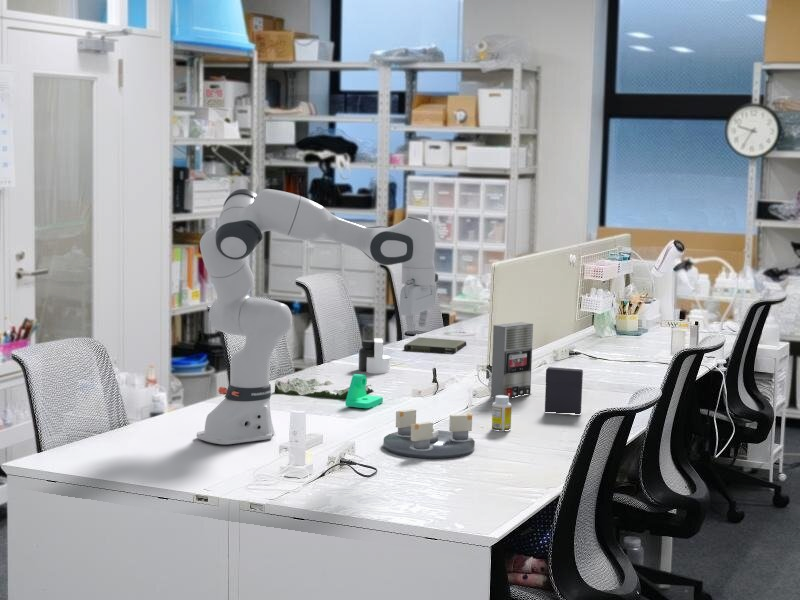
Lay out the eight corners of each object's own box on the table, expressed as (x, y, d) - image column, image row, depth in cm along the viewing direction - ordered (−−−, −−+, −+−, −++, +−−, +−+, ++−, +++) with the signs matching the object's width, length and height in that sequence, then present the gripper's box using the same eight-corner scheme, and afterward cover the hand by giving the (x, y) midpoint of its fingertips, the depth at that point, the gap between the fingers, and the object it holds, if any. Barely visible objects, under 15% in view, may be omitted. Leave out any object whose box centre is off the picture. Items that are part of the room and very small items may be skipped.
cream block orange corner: (408, 430, 333) (409, 408, 332) (418, 433, 329) (419, 410, 329) (392, 433, 329) (392, 410, 328) (402, 436, 326) (403, 413, 325)
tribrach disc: (431, 464, 306) (431, 444, 305) (364, 446, 323) (364, 427, 322) (493, 448, 323) (493, 430, 323) (426, 432, 341) (427, 415, 340)
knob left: (425, 443, 318) (426, 420, 317) (435, 447, 314) (436, 423, 313) (407, 446, 314) (408, 422, 314) (417, 449, 311) (417, 426, 310)
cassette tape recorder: (503, 403, 384) (506, 327, 381) (490, 400, 389) (492, 325, 386) (532, 398, 393) (535, 324, 390) (518, 395, 398) (521, 321, 395)
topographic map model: (317, 377, 423) (317, 364, 423) (394, 385, 414) (394, 370, 413) (274, 396, 390) (274, 381, 389) (356, 404, 380) (357, 388, 380)
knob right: (452, 440, 322) (453, 417, 322) (447, 436, 327) (448, 413, 326) (473, 439, 324) (473, 416, 323) (468, 435, 328) (468, 413, 327)
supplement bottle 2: (509, 428, 348) (511, 394, 347) (511, 433, 342) (512, 398, 341) (490, 428, 348) (492, 394, 347) (492, 432, 342) (493, 398, 341)
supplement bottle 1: (377, 372, 433) (378, 339, 432) (376, 375, 427) (377, 342, 425) (359, 371, 434) (360, 339, 432) (357, 374, 427) (358, 342, 426)
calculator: (581, 416, 367) (583, 369, 365) (579, 419, 363) (581, 371, 361) (546, 413, 370) (548, 366, 368) (544, 416, 366) (546, 368, 364)
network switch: (402, 357, 469) (402, 345, 468) (411, 348, 492) (411, 336, 491) (460, 360, 465) (460, 348, 464) (467, 351, 488) (467, 339, 487)
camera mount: (367, 411, 367) (367, 379, 366) (345, 409, 370) (346, 377, 369) (383, 405, 378) (384, 373, 376) (362, 402, 381) (363, 371, 380)
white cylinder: (390, 375, 424) (391, 342, 423) (365, 375, 424) (366, 342, 422) (389, 370, 433) (390, 338, 432) (365, 370, 433) (365, 338, 431)
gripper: (416, 281, 305) (415, 334, 307) (440, 275, 324) (439, 324, 326) (394, 280, 307) (392, 332, 309) (418, 273, 326) (417, 323, 328)
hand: (416, 328), depth 318 cm, fingers open, 8 cm apart
